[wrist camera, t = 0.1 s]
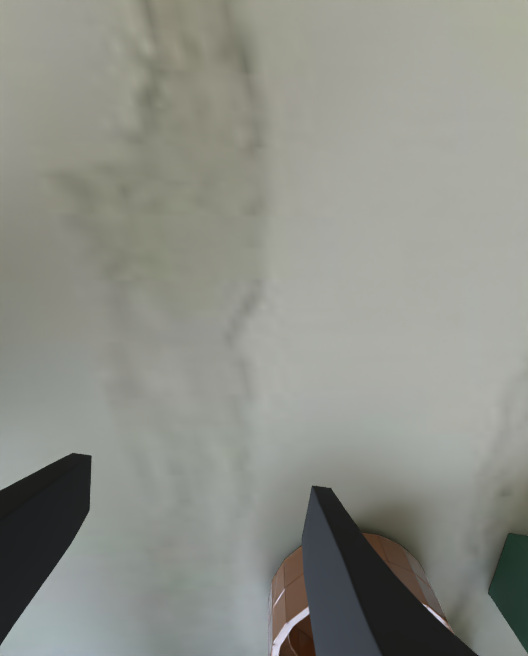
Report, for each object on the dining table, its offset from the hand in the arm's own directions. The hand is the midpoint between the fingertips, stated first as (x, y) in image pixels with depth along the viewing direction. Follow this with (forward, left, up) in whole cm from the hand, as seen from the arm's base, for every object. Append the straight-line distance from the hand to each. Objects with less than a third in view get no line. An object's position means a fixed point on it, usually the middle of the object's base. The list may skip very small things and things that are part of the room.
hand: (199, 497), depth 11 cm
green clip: (-10, -21, -10) cm, 25 cm away
